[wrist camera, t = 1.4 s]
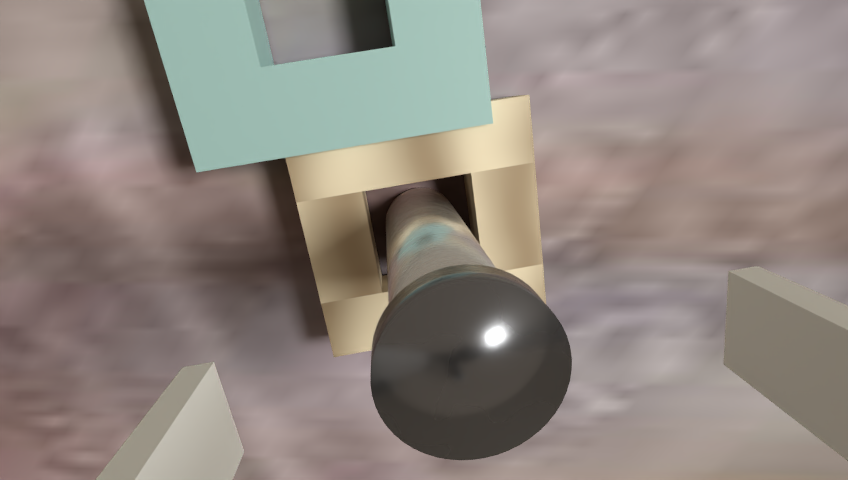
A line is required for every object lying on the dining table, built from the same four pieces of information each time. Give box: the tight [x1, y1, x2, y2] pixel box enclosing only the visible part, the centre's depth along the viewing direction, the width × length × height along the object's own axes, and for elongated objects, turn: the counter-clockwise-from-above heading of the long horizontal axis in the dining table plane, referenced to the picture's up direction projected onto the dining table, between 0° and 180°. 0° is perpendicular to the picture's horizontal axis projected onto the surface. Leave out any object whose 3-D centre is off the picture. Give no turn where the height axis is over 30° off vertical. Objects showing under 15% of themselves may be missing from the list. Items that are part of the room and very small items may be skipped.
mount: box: [286, 95, 546, 357], centre depth 24 cm, size 12×12×2 cm
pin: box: [371, 188, 572, 460], centre depth 18 cm, size 5×5×15 cm
